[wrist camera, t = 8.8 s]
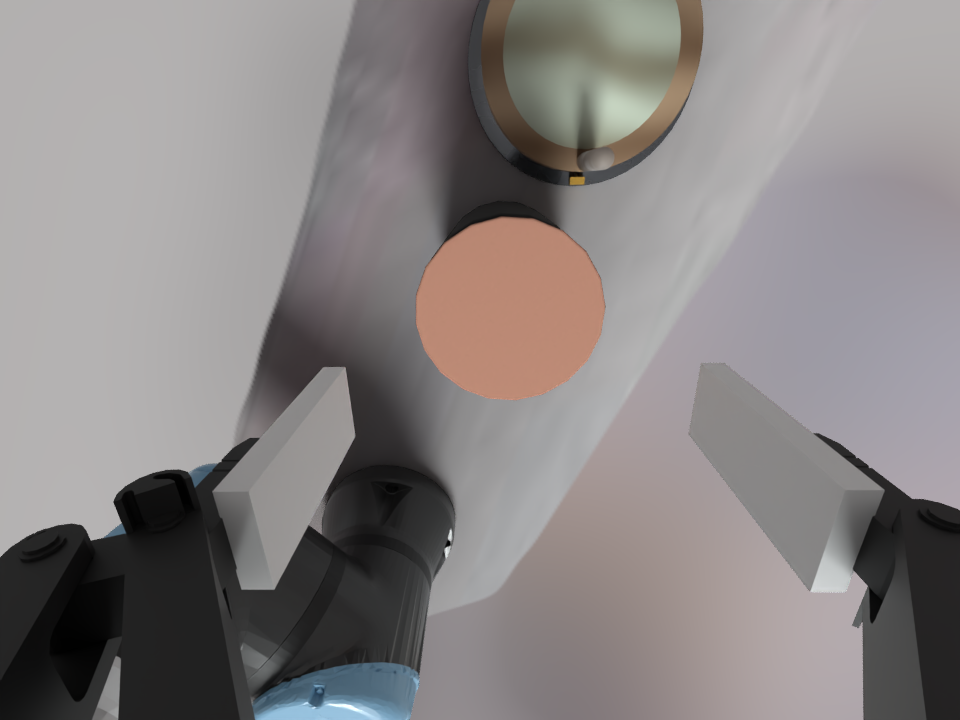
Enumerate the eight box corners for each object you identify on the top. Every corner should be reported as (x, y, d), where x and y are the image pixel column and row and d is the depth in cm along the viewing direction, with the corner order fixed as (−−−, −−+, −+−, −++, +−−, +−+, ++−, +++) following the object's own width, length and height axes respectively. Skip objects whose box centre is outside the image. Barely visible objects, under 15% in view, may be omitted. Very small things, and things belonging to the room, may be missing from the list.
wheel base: (547, 228, 41) (549, 229, 39) (422, 36, 35) (420, 31, 34) (735, 92, 36) (743, 89, 35) (624, -150, 31) (629, -162, 30)
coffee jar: (452, 321, 44) (428, 408, 27) (437, 206, 40) (399, 226, 23) (561, 311, 43) (605, 394, 27) (558, 194, 39) (607, 205, 23)
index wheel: (673, 167, 38) (724, 164, 29) (485, 175, 38) (483, 175, 30) (699, -75, 32) (773, -164, 24) (477, -60, 32) (472, -143, 24)
